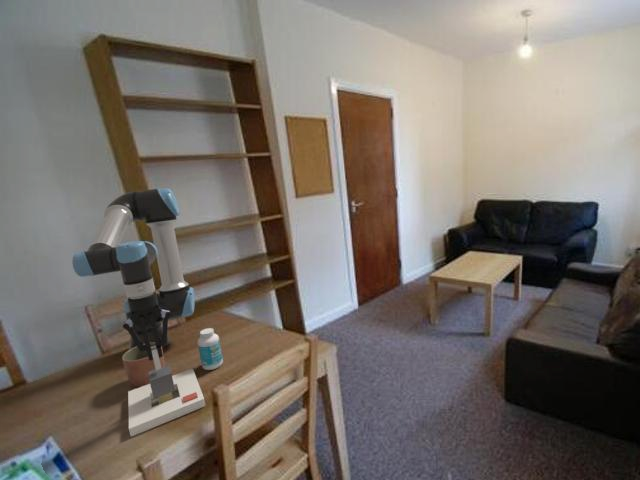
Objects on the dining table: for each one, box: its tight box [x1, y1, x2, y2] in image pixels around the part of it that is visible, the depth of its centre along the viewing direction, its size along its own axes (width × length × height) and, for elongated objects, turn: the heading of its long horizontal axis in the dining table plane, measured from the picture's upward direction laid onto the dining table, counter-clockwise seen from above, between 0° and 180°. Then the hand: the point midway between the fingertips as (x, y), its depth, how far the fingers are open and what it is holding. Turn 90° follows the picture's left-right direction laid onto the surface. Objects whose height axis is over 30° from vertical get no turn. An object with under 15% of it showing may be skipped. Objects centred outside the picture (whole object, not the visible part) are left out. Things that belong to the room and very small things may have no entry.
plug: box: [148, 364, 175, 404], centre depth 105 cm, size 6×6×10 cm
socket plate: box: [127, 368, 207, 438], centre depth 106 cm, size 20×20×3 cm
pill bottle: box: [197, 327, 224, 371], centre depth 123 cm, size 8×7×14 cm
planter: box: [121, 342, 166, 388], centre depth 119 cm, size 12×12×11 cm
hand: (158, 367), depth 104 cm, fingers closed
